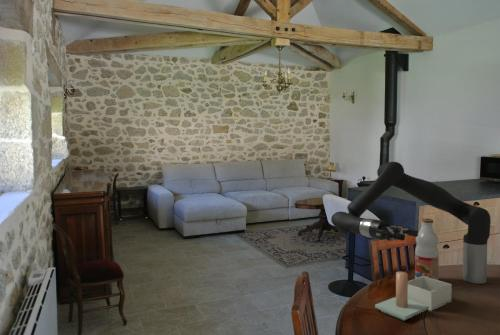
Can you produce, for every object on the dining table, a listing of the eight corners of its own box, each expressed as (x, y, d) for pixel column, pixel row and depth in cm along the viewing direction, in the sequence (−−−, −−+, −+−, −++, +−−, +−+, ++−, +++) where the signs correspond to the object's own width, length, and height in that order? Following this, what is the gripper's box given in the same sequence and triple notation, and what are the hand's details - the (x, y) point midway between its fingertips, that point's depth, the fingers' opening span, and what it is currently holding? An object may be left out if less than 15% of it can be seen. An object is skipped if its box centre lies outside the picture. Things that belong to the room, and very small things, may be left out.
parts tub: (422, 292, 159) (422, 275, 159) (451, 301, 149) (451, 284, 149) (402, 300, 151) (402, 283, 151) (431, 311, 141) (431, 292, 141)
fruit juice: (442, 285, 167) (443, 221, 165) (420, 285, 167) (421, 221, 165) (431, 277, 176) (432, 217, 175) (411, 278, 176) (411, 217, 175)
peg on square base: (398, 301, 151) (398, 265, 150) (428, 312, 140) (429, 273, 140) (375, 311, 142) (375, 272, 142) (405, 323, 132) (405, 282, 131)
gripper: (362, 221, 150) (399, 228, 137) (384, 217, 158) (421, 222, 145) (362, 240, 151) (399, 249, 137) (384, 235, 159) (422, 242, 146)
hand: (411, 235), depth 141 cm, fingers open, 8 cm apart
